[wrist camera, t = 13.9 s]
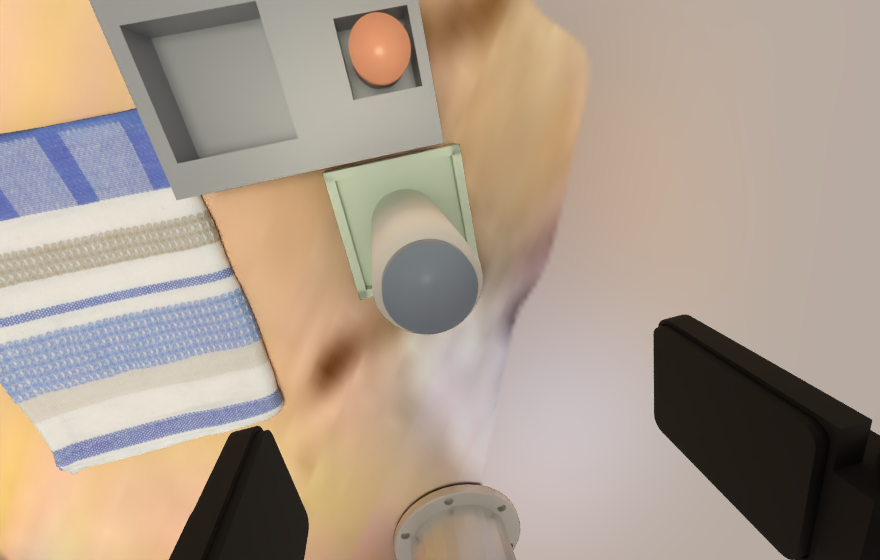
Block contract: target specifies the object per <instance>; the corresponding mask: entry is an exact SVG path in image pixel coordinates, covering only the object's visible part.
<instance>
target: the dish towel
mask: <svg viewBox="0 0 880 560" xmlns="http://www.w3.org/2000/svg"><path fill="white" fill-rule="evenodd" d="M0 384H1V385H2V386H3V387H4V390H5V391H6V392H7V393H8V394H9V395H10V396H11V398H12V400H13V402H14V403H15V404H17V405H18V406H19V407H20V408H21V409H22V410H23V412H24V413H25V415H26V416H27V417H28V418H29V419H30V420H31V422H32V423H33V424H34V426H35V427H36V428H37V430H38V431H39V432H40V433H41V435H42V436H43V438H44V440H45V441H46V443H47V444H48V446H49V447H50V449H51V451H52V452H53V455H54V459H55V462H56V466H57V467H59V469H60V470H62V471H66V472H70V473H72V474H75V473H78V472H79V471H81V470H83V469H85V468H86V467H89V466H95V465H100V464H105V463H109V462H113V461H117V460H121V459H124V458H128V457H132V456H136V455H140V454H144V453H147V452H150V451H153V450H158V449H162V448H165V447H169V446H172V445H174V444H177V443H181V442H184V441H188V440H192V439H195V438H199V437H203V436H207V435H213V434H220V433H224V432H227V431H230V430H234V429H238V428H242V427H245V426H249V425H252V424H255V423H258V422H261V421H264V420H267V419H269V418H271V417H273V416H275V415H276V414H278V413H279V412H280V410H281V408H282V407H283V405H284V402H283V400H282V396H281V393H280V391H279V389H278V387H277V384H276V380H275V376H274V372H273V369H272V367H271V364H270V361H269V359H268V356H267V353H266V351H265V348H264V345H263V342H262V339H261V333H260V331H259V329H258V326H257V323H256V321H255V319H254V314H253V313H252V311H251V308H250V305H249V303H248V302H247V299H246V296H245V295H244V293H243V291H242V289H241V286H240V285H239V283H238V281H237V279H236V277H235V275H234V273H233V271H232V269H231V266H230V264H229V262H228V259H227V257H226V254H225V252H224V249H223V246H222V244H221V240H220V237H219V234H218V232H217V229H216V227H215V224H214V221H213V220H212V218H211V216H210V214H209V212H208V210H207V208H206V205H205V203H204V201H203V199H202V197H201V195H199V196H195V197H190V198H185V199H181V200H176V198H175V195H174V193H173V191H172V189H171V186H170V184H169V182H168V179H167V177H166V175H165V173H164V170H163V168H162V166H161V163H160V161H159V159H158V157H157V154H156V152H155V150H154V147H153V145H152V143H151V141H150V138H149V136H148V134H147V131H146V129H145V127H144V125H143V122H142V120H141V118H140V115H139V113H138V111H137V109H136V108H135V109H131V110H127V111H123V112H118V113H113V114H108V115H102V116H97V117H92V118H87V119H82V120H77V121H72V122H67V123H62V124H56V125H51V126H46V127H41V128H35V129H29V130H23V131H16V132H10V133H3V134H0Z"/></svg>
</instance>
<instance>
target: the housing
mask: <svg viewBox="0 0 880 560" xmlns="http://www.w3.org/2000/svg"><path fill="white" fill-rule="evenodd" d="M89 1H90V3H91V6H92V8H93V10H94V12H95V15H96V17H97V19H98V22H99V24H100V26H101V28H102V31H103V33H104V35H105V38H106V40H107V42H108V45H109V47H110V49H111V51H112V54H113V56H114V58H115V61H116V63H117V65H118V67H119V70H120V72H121V74H122V77H123V79H124V81H125V83H126V86H127V88H128V90H129V93H130V95H131V97H132V99H133V102H134V104H135V106H136V109H137V111H138V113H139V115H140V118H141V120H142V122H143V125H144V127H145V129H146V131H147V134H148V136H149V138H150V141H151V143H152V145H153V147H154V150H155V152H156V154H157V157H158V159H159V161H160V163H161V166H162V168H163V170H164V173H165V175H166V177H167V179H168V182H169V184H170V186H171V189H172V191H173V193H174V195H175V198H176V200H181V199H185V198H190V197H195V196H199V195H204V194H208V193H213V192H218V191H222V190H227V189H232V188H236V187H241V186H245V185H250V184H255V183H259V182H264V181H269V180H273V179H278V178H283V177H287V176H292V175H296V174H301V173H306V172H310V171H315V170H320V169H324V168H329V167H333V166H338V165H343V164H347V163H352V162H357V161H361V160H366V159H371V158H375V157H380V156H384V155H389V154H394V153H398V152H403V151H408V150H412V149H417V148H421V147H426V146H431V145H435V144H440V143H444V140H443V135H442V129H441V123H440V118H439V112H438V107H437V101H436V96H435V90H434V85H433V79H432V74H431V68H430V63H429V57H428V52H427V46H426V41H425V35H424V30H423V24H422V19H421V13H420V8H419V2H418V0H89ZM373 12H382V13H386V14H389V15H391V16H393V17H394V18H396V19H397V20H398V21H399V22H400V23H401V24H402V25H403V27H404V28H405V30H406V32H407V33H408V36H409V39H410V44H411V56H410V60H409V63H408V65H407V67H406V69H405V71H404V73H403V74H402V76H401V78H400V79H399V80H398V82H397V83H395V84H394V85H393V86H391V87H389V88H385V89H376V88H372V87H370V86H368V85H366V84H365V83H364V82H362V81H361V80H360V78H359V77H358V76H357V74H356V72H355V70H354V67H353V64H352V60H351V57H350V53H349V36H350V33H351V30H352V28H353V26H354V25H355V23H356V22H357V21H358V20H359V19H360V18H361V17H363V16H364V15H366V14H369V13H373Z"/></svg>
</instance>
